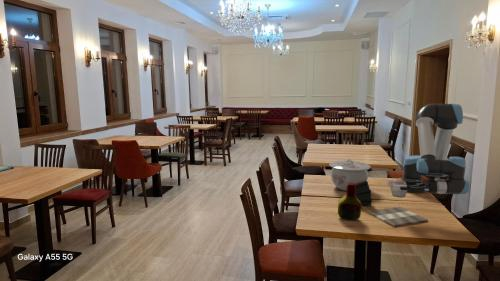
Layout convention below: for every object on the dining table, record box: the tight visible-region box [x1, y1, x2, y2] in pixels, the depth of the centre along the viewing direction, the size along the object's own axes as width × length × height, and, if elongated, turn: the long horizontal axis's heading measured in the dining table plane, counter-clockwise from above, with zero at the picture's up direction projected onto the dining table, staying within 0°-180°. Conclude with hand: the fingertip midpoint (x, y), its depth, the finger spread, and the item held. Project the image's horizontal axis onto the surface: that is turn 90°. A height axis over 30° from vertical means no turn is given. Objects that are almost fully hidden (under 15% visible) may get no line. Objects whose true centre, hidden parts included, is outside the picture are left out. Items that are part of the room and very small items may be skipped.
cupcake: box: [389, 177, 408, 199], centre depth 175 cm, size 9×9×10 cm
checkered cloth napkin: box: [367, 206, 429, 228], centre depth 177 cm, size 22×20×1 cm
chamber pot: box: [329, 159, 372, 192], centre depth 226 cm, size 28×28×21 cm
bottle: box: [337, 183, 363, 221], centre depth 174 cm, size 12×6×20 cm, turn 67°
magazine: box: [355, 180, 373, 207], centre depth 196 cm, size 4×13×15 cm, turn 67°
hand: (390, 184), depth 175 cm, fingers closed on cupcake, 9 cm apart
